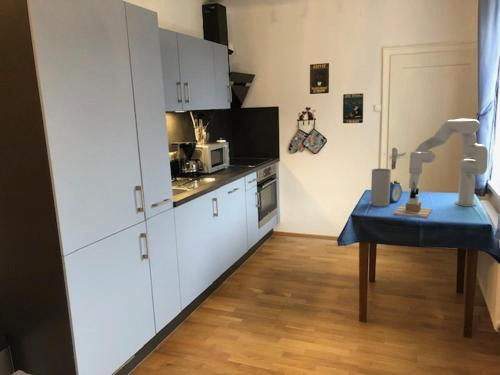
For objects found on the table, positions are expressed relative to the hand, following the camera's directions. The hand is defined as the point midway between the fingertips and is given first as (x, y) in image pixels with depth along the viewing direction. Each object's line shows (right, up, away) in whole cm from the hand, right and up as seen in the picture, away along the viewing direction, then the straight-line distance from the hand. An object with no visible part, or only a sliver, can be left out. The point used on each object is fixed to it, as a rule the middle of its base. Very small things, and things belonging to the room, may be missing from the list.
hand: (414, 196), depth 266 cm
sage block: (0, -4, +1) cm, 4 cm away
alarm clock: (-3, -4, +31) cm, 31 cm away
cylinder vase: (-15, -6, +23) cm, 28 cm away
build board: (0, -10, +2) cm, 11 cm away
